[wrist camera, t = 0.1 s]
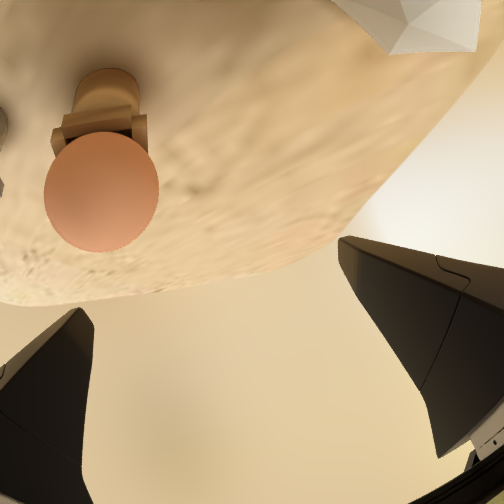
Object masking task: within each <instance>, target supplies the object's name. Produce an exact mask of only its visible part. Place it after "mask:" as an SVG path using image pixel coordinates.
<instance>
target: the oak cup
mask: <svg viewBox="0 0 504 504" xmlns="http://www.w3.org/2000/svg"><path fill="white" fill-rule="evenodd" d="M95 132H113V133H118V134H121V135H124V136H126V137H129V138H130V139H132V140H133V141H135V142H136V143H138V144H139V145H140V146H141V147H142V148H143V149H144V150H145V151H146V152H147V154H148V138H147V114H146V115H139V87H138V84H137V82H136V80H135V79H134V78H133V77H132V76H131V75H130V74H129V73H127V72H125V71H123V70H119V69H114V68H107V69H101V70H97V71H95V72H93V73H91V74H89V75H88V76H86V77H85V78H84V79H83V80H82V81H81V83H80V84H79V86H78V88H77V91H76V95H75V99H74V103H73V108H72V112H71V114H66V115H64V117H63V121H62V126H61V127H60V128H55V129H53V132H52V136H51V141H50V142H51V145H52V148H53V151H54V154H55V157H57V155H58V154H59V153H60V152H61V151H62V150H63V149H64V148H65V147H66V146H67V145H68V144H69V143H71V142H72V141H74V140H76V139H77V138H79V137H81V136H84V135H87V134H90V133H95Z"/></svg>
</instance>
